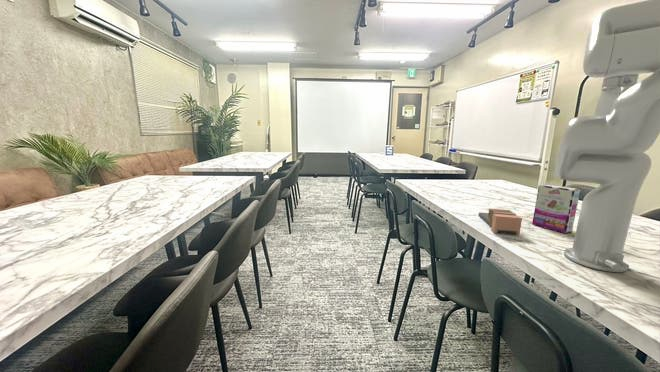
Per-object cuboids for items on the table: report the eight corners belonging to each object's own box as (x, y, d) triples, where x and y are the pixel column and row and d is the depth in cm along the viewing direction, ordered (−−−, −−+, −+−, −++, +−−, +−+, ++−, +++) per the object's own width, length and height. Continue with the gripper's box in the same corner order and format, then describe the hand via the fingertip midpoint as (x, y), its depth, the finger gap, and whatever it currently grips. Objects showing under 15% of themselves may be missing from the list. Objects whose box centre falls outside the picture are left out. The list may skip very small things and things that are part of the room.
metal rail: (515, 235, 91) (516, 231, 90) (496, 233, 92) (497, 229, 92) (493, 216, 112) (494, 213, 111) (478, 215, 113) (478, 212, 113)
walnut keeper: (514, 227, 93) (516, 214, 92) (492, 225, 95) (494, 212, 94) (507, 222, 99) (509, 210, 98) (487, 220, 101) (489, 208, 100)
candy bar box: (572, 232, 95) (581, 188, 92) (565, 234, 93) (574, 190, 90) (538, 222, 105) (545, 183, 102) (531, 224, 103) (538, 184, 100)
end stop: (519, 235, 90) (522, 218, 89) (493, 233, 92) (496, 216, 91) (515, 232, 93) (518, 215, 92) (490, 230, 95) (493, 213, 94)
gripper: (656, 79, 74) (640, 143, 78) (614, 88, 88) (602, 142, 92) (624, 80, 76) (609, 142, 80) (588, 88, 90) (577, 141, 94)
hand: (605, 142), depth 86 cm, fingers closed
